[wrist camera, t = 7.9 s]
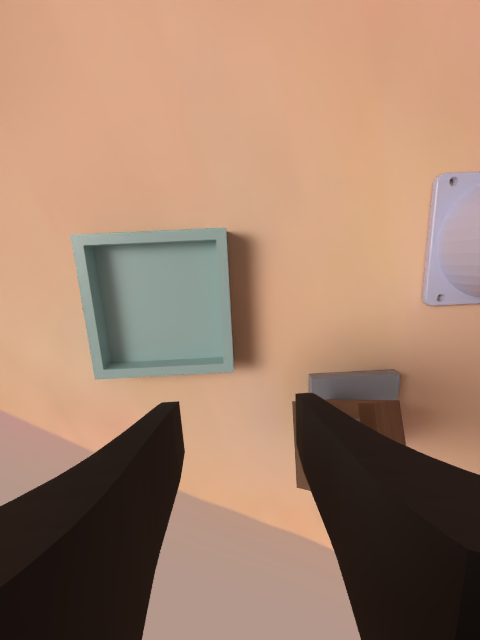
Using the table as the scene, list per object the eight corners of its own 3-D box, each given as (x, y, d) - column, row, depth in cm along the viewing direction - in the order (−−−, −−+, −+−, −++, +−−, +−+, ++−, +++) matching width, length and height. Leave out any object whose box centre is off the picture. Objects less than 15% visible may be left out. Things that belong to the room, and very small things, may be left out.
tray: (226, 231, 17) (225, 227, 15) (233, 361, 19) (233, 372, 17) (87, 237, 17) (70, 234, 15) (108, 368, 19) (94, 379, 17)
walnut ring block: (399, 400, 16) (373, 403, 12) (410, 480, 15) (387, 509, 11) (330, 399, 19) (292, 401, 15) (335, 467, 17) (296, 487, 14)
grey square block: (393, 369, 19) (435, 397, 15) (387, 444, 20) (424, 488, 16) (308, 374, 19) (328, 403, 15) (308, 449, 20) (325, 494, 16)
